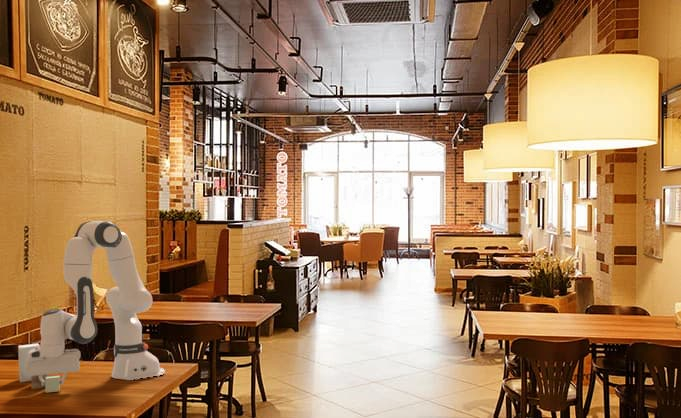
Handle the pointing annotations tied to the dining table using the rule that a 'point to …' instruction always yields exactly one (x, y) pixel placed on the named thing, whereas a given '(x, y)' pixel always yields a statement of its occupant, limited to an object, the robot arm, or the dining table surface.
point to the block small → (52, 384)
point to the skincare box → (24, 360)
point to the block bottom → (37, 382)
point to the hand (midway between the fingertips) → (52, 384)
